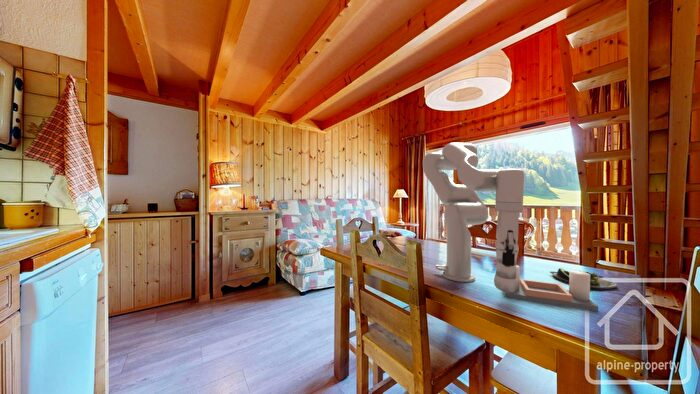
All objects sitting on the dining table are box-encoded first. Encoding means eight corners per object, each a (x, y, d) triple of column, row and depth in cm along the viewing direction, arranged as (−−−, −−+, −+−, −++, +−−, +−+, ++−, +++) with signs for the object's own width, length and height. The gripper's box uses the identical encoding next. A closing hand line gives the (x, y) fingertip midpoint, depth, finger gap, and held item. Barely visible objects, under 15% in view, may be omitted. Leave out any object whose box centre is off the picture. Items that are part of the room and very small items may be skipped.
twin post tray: (505, 297, 85) (505, 269, 85) (500, 285, 96) (500, 260, 96) (598, 311, 75) (598, 280, 75) (581, 296, 86) (581, 269, 86)
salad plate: (581, 274, 110) (581, 263, 110) (632, 289, 92) (632, 277, 92) (543, 275, 108) (543, 265, 108) (587, 292, 90) (587, 279, 90)
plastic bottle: (508, 296, 77) (511, 233, 76) (488, 288, 83) (491, 229, 82) (522, 293, 79) (524, 231, 78) (501, 285, 86) (504, 227, 84)
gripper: (492, 205, 89) (490, 254, 90) (498, 209, 74) (496, 268, 74) (517, 205, 86) (514, 256, 87) (529, 210, 70) (526, 272, 71)
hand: (506, 261), depth 81 cm, fingers closed on plastic bottle, 6 cm apart
